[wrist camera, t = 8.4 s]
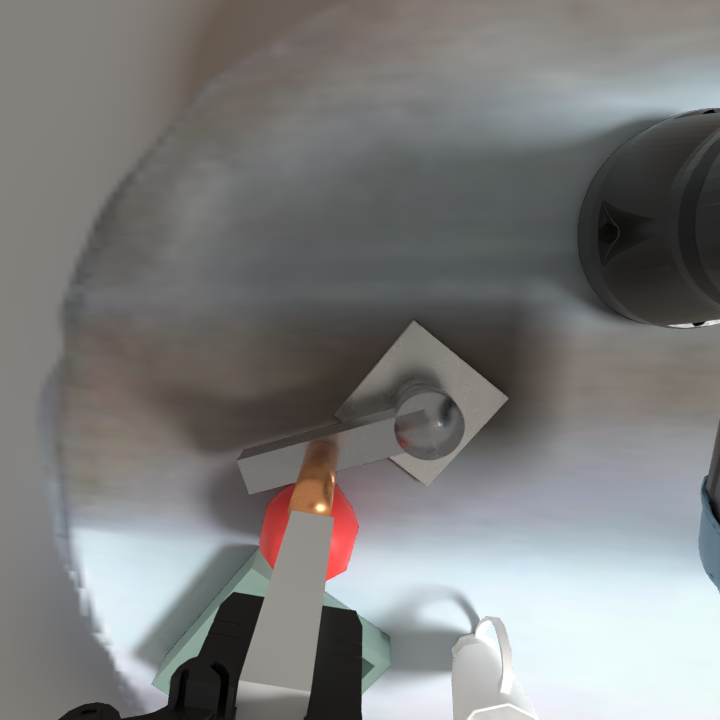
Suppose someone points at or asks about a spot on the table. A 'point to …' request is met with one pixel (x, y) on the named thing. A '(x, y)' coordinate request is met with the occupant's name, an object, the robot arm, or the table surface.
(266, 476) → the crank
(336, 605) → the tray
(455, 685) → the cup
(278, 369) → the table surface
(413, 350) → the crank post
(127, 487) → the table surface
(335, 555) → the apple
